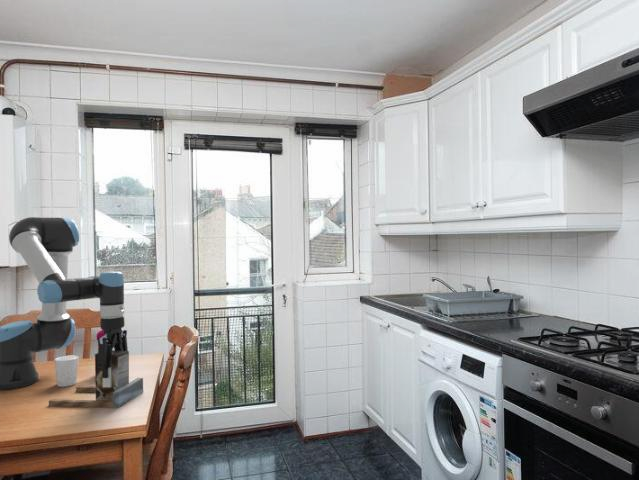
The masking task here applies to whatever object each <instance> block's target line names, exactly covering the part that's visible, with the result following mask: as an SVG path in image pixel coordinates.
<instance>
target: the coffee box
mask: <svg viewBox="0 0 639 480" xmlns="http://www.w3.org/2000/svg"><path fill="white" fill-rule="evenodd" d="M129 353H130V351H129V350H128V351H115V349H113V350H112V355H111V361H110V366H109V367H111V380H112V387H103V377H102V368H98V367H97V362H98V352H97V353H95V354H94V372H95V373H94V375H95V376H94V377H95V381H94V382H95V385H94V386H95V388H96V392H95V400H99V401H113V392H114V391H116V390H118V389H120V388H121V387H123V386H125V385H126V384H128V383H130V354H129Z"/></svg>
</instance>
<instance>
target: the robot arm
mask: <svg viewBox="0 0 639 480" xmlns="http://www.w3.org/2000/svg"><path fill="white" fill-rule="evenodd" d="M76 223H77V222H75V221H74V220H73V219H72V218H67V217H39V216H38V217H36V216H33V217H32V216H30V217H25V218H22V219H20V220H19V221H17V222H16V223H14V225H13V226H12V227H11V229H10V231H9V235H8V240H9V244H10V246H11V247H12V249H13V251H14V252H16V253H18V254H20V256H21V257H22V259H23V260H24V262H25V264H26V265H27V266H28V268H29V270H30V271H31V273H32V274H33V276H34V277H35V279H36V281H37V282H38V284H37V285H38V286H37V290H36V292H37V297H38V300H39V301H40V302H41V313H40V314H38V316H37V317H36V322H33V321H31V320H25V319H24V320H18V321H14V322H10V323H6V324H4V325H3V324H2V326H0V390H1V391H3V390H12V389H20V388H23V387H27V386H30V385H32V384H35V383H37V382H39V379H40V378H39V373H38V371H37V368H36V366H35V364H34V353H41V352H46V351H51V350H57V349H61V348H65V347H68V346H69V345H71V344H72V343H73V342H74V339H75V336H76V325H75V324H76V322H75V320H74V319H73V318H71V315H70V314H69V313H68V312H67V302H73V301H83V300H93V299H99V316H100V317H101V318H100V324H99V325H100V327H99V328H100V329H101V330H104V334H103V337H101V338H98V340H97V344H98V345H97V346H98V348H97V353H98V362H97V367H98V368H102V377H103V387H112V380H111V367H109V366H110V361H111V355H112V350H115V351H129V350H128V339H127V335H128V330H127V329H122V328H124V327H125V316H124V315H125V304H124V303H125V281H124V275H123V272H121V271H103V272H101V273H99V275H94V276H88V277H79V278H68V271H69V270H68V268H69V267H68V265H69V255H70V254H72V253H73V251H74V249H73V247H74V248H75V247H76V246H78V245H79V242H80V232H79V227H78V226H77V224H76ZM107 344H108V345H107Z"/></svg>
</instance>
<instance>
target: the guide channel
mask: <svg viewBox="0 0 639 480" xmlns="http://www.w3.org/2000/svg"><path fill="white" fill-rule="evenodd" d="M75 392H77V393H80V392H81V393H96V388H95V385H92V386H91V385H78V386H76V387H75ZM143 392H144V377H137V378H134V379H133V380H132V381H129V383H128V384H126V385H125V386H123V387H121V388H120V389H118V390H116V391H114V392H113V401H99V400H96V399H95V400H93V399H91V400H90V399H59V398H58V399H57V398H52V399H50V400H48V407H80V408H109V409H110V408H112V409H113V408H114V409H119V408H121V407H123V406H124V405H126V404H127V403H129V402H130V401H131V400H134V399H135V398H137V396H139V395H140V394H142V393H143Z"/></svg>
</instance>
